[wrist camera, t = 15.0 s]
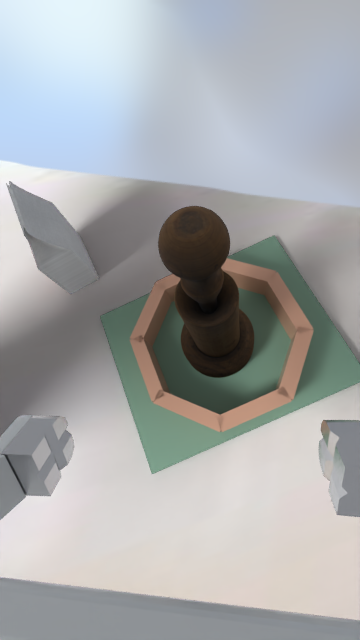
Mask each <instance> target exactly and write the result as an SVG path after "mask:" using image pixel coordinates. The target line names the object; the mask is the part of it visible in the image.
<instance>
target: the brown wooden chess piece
mask: <svg viewBox="0 0 360 640" xmlns="http://www.w3.org/2000/svg"><path fill="white" fill-rule="evenodd" d="M158 247H159V254H160V257H161V259H162V262H163V263H164V265H165V266H166V268H167V269H168V270H169V271H170V272H171V273H172V274H174V275H175V276H177V277H179V278H180V281H179V283H178V284H177V286H176V289H175V293H174V302H175V306H176V309H177V311H178V313H179V315H180V316H181V318H182V320H183V322H184V325H183V328H182V332H181V346H182V350H183V353H184V355H185V357H186V358H187V360H188V361H189V363H190V364H191V365H192V366H193V367H194V368H195V369H196V370H197V371H198V372H200V373H201V374H203V375H206V376H209V377H214V378H222V377H227V376H231V375H233V374H235V373H237V372H239V371H240V370H241V369H242V368H243V367H244V366H245V365H246V364H247V363H248V361H249V360H250V358H251V355H252V352H253V348H254V330H253V326H252V324H251V321H250V320H249V318H248V317H247V315H246V314H245V313H244V312H243V311H242V310H241V309H239V290H238V287H237V284H236V282H235V281H234V279H233V278H232V277H231V276H230V275H229V274H227V273H226V272H224V271H223V270H222V268H221V267H222V266H223V264H224V263H225V261H226V259H227V257H228V254H229V249H230V238H229V233H228V230H227V228H226V226H225V224H224V222H223V221H222V219H221V218H220V217H219V216H218V215H217V214H216V213H214V212H213V211H211V210H209V209H207V208H204V207H199V206H189V207H185V208H182V209H179V210H177V211H176V212H174V213H173V214H172V215H171V216H170V217H169V218H168V219H167V220H166V221H165V223H164V224H163V226H162V228H161V231H160V234H159V240H158Z"/></svg>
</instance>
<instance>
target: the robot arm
mask: <svg viewBox="0 0 360 640" xmlns="http://www.w3.org/2000/svg"><path fill="white" fill-rule="evenodd" d="M67 426H68V424H67V421H66V419H65V417H61V416H40V415H35V416H32V415H21V416H19V417H17V418H16V419H15V420H14V421H13V423H12V424H11V425H10V426H9V427H8V428H7V430H6V431H5V432H4V433H3V434H2V435H1V436H0V520H1V519H2V518H3V517H4V516H5V515H6V514H7V513H9V512H10V511H11V510H12V509H13V508H14V507H15V506H16V505H17V504H19V503H20V502H21V501H22V500H23V499H24V498H25V497H26V496H25V495H31V496H51V494H52V493H53V491H54V489H55V487H56V485H57V483H58V482H59V480H60V478H61V472H60V470H61V469H62V468H64V467H65V466H66V465H68V463H69V461H70V459H71V457H72V454H73V450H74V440H73V437H72V435H71V434H70V433H69V432H68V431H67V430H66V428H67ZM321 432H322V435H323V439H321V440H320V441H319V460H320V465H321V469H322V472H323V475H324V477H326V478H327V479H328V480H329V481H330V484H329V494H330V497H331V499H332V502H333V505H334V508H335V511H336V514H337V515H343V516H354V517H360V421H359V420H323V422H322V424H321ZM0 640H360V620H352V619H344V618H336V617H327V616H319V615H311V614H303V613H294V612H286V611H278V610H270V609H261V608H253V607H245V606H237V605H228V604H220V603H212V602H204V601H195V600H187V599H179V598H170V597H162V596H154V595H146V594H137V593H129V592H121V591H113V590H104V589H96V588H88V587H80V586H71V585H63V584H55V583H46V582H38V581H30V580H21V579H13V578H5V577H0Z"/></svg>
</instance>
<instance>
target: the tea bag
mask: <svg viewBox="0 0 360 640" xmlns="http://www.w3.org/2000/svg"><path fill="white" fill-rule="evenodd" d="M9 184H10V187H9V186H8V185H7V183H6V185H7V187H8V190H9V193H10V196H11V199H12V202H13V205H14V207H15V210H16V213H17V216H18V219H19V222H20V225H21V228H22V230H23V233H24V236H25V237H26V239H27V240H28V241H29V244H30V247H31V250H32V253H33V256H34V259H35V261H36V264H37V267H38V269H39V270H40V271H41V272H43V273H44V274H45V275H47V276H48V277H49V278H50V279H52V280H53V281H54V282H56V283H57V284H58V285H59V286H61V287H62V288H63V289H65V290H66V291H67V292H68V293H70V294H72V293H74V292H76V291H78V290H80V289H81V288H83V287H85V286H87V285H89V284H91V283H92V282H94V281H96V280H98V279H99V277H98V275H97V272H96V270H95V268H94V266H93V264H92V261H91V259H90V257H89V255H88V252H87V250H86V248H85V246H84V243H83V241H82V239H81V237H80V235H79V234H78V233H77V232H76V231H75V229H74V228H73V227H72V226H71V225H70V223H69V222H68V221H67V220H66V219H65V217H64V216H63V215H62V214H61V213H60V212H59V210H58V209H57V208H56V207H55V206H54V204H53V203H52V202H49V201H47V200H45V199H43V198H40V197H38V196H36V195H34V194H31V193H29V192H27V191H25V190H23V189H21V188H19V187H18V186H16V185H14V184H13V183H12V182H10V181H9Z"/></svg>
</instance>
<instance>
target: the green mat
mask: <svg viewBox="0 0 360 640" xmlns="http://www.w3.org/2000/svg"><path fill="white" fill-rule="evenodd" d="M227 258H228V259H232V260H236V261H240V262H243V263H247V264H251V265H255V266H259V267H263V268H267V269H271V270H274V271H276V272H278V273H279V275H280V277H281V278H282V280H283V281H284V283H285V285H286V286H287V288H288V289H289V291H290V292H291V294H292V296H293V297H294V299H295V300H296V302H297V303H298V305H299V307H300V308H301V310H302V311H303V313H304V315H305V316H306V318H307V319H308V321H309V322H310V324H311V326H312V327H313V330H314V331H313V335H312V338H311V341H310V345H309V348H308V352H307V355H306V358H305V362H304V365H303V368H302V372H301V375H300V379H299V382H298V385H297V389H296V392H295V395H294V399H293V400H292V401H291V402H289V403H287V404H284V405H282V406H280V407H278V408H275V409H273V410H271V411H269V412H266V413H264V414H262V415H260V416H257V417H255V418H253V419H251V420H248V421H246V422H244V423H242V424H239V425H237V426H235V427H233V428H230V429H228V430H226V431H224V432H218V431H216V430H214V429H211V428H209V427H207V426H204V425H202V424H200V423H198V422H195V421H193V420H191V419H188V418H186V417H184V416H182V415H179V414H177V413H175V412H172V411H170V410H168V409H165V408H163V407H161V406H159V405H156V404H154V403H153V402H152V401H151V398H150V395H149V393H148V390H147V387H146V384H145V382H144V379H143V376H142V373H141V370H140V368H139V365H138V362H137V359H136V357H135V354H134V351H133V348H132V345H131V343H130V340H131V339H130V337H131V334H132V332H133V330H134V328H135V326H136V323H137V321H138V319H139V317H140V315H141V312H142V310H143V308H144V306H145V304H146V301H147V299H148V297H149V295H150V293H149V294H147V295H145V296H143V297H140V298H138V299H136V300H134V301H132V302H130V303H127V304H125V305H123V306H121V307H119V308H117V309H115V310H112V311H110V312H108V313H106V314H104V315H102V316H100V318H101V321H102V324H103V327H104V330H105V333H106V336H107V339H108V342H109V345H110V348H111V351H112V354H113V357H114V360H115V363H116V366H117V369H118V372H119V375H120V378H121V381H122V385H123V388H124V391H125V394H126V397H127V400H128V403H129V406H130V409H131V412H132V415H133V418H134V421H135V424H136V427H137V430H138V433H139V436H140V439H141V442H142V445H143V448H144V451H145V454H146V458H147V461H148V464H149V467H150V470H151V473H152V474H154V473H156V472H158V471H160V470H163V469H165V468H167V467H169V466H172V465H174V464H176V463H179V462H181V461H183V460H185V459H188V458H190V457H192V456H194V455H197V454H199V453H201V452H203V451H206V450H208V449H210V448H212V447H215V446H217V445H219V444H221V443H224V442H226V441H228V440H230V439H233V438H235V437H237V436H239V435H242V434H244V433H246V432H248V431H251V430H253V429H255V428H258V427H260V426H262V425H264V424H267V423H269V422H271V421H273V420H276V419H278V418H280V417H282V416H285V415H287V414H289V413H291V412H294V411H296V410H298V409H300V408H303V407H305V406H307V405H309V404H312V403H314V402H316V401H318V400H321V399H323V398H325V397H327V396H330V395H332V394H334V393H337V392H339V391H341V390H343V389H346V388H348V387H350V386H352V385H355V384H357V383H359V382H360V363H359V362H358V360H357V359H356V357H355V356H354V354H353V353H352V351H351V350H350V348H349V347H348V345H347V344H346V342H345V341H344V339H343V338H342V336H341V335H340V333H339V332H338V330H337V329H336V327H335V326H334V324H333V323H332V321H331V320H330V318H329V317H328V315H327V314H326V312H325V311H324V309H323V308H322V306H321V305H320V303H319V302H318V300H317V299H316V297H315V296H314V294H313V293H312V291H311V290H310V288H309V287H308V285H307V284H306V282H305V281H304V279H303V278H302V276H301V275H300V273H299V272H298V270H297V269H296V267H295V266H294V264H293V263H292V261H291V260H290V258H289V257H288V255H287V254H286V252H285V251H284V249H283V248H282V246H281V245H280V243H279V242H278V240H277V239H276V237H275V236H272V237H269V238H267V239H265V240H263V241H261V242H259V243H257V244H254V245H252V246H250V247H248V248H246V249H244V250H241V251H239V252H237V253H235V254H233V255H231V256H229V257H227ZM238 290H239V309H241V310H242V311H243V312H244V313H245V314H246V315H247V317H248V318H249V320H250V321H251V324H252V326H253V330H254V348H253V352H252V355H251V358H250V360H249V361H248V363H247V364H246V365H245V366H244V367H243V368H242V369H241V370H240V371H239V372H237V373H235V374H233V375H231V376H227V377H222V378H214V377H209V376H206V375H203V374H201V373H200V372H198V371H197V370H196V369H195V368H194V367H193V366H192V365H191V364H190V363H189V361H188V360H187V358H186V357H185V355H184V353H183V350H182V346H181V332H182V328H183V325H184V322H183V320H182V318H181V316H180V315H179V313H178V311H177V309H176V306H175V302H174V301H173V302H171V305H170V307H169V309H168V312H167V314H166V316H165V319H164V321H163V323H162V325H161V328H160V330H159V332H158V335H157V337H156V339H155V342H154V344H153V346H152V347H153V350H154V352H155V355H156V357H157V360H158V363H159V365H160V368H161V370H162V373H163V375H164V378H165V381H166V383H167V386H168V388H169V391H170V393H171V394H172V395H174V396H176V397H179V398H181V399H184V400H186V401H188V402H191V403H193V404H195V405H198V406H200V407H203V408H205V409H207V410H210V411H212V412H215V413H217V414H219V415H221V414H223V413H225V412H228V411H230V410H232V409H234V408H237V407H239V406H241V405H243V404H246V403H248V402H250V401H252V400H255V399H257V398H259V397H261V396H264V395H266V394H268V393H270V392H273V391H275V389H276V386H277V383H278V380H279V377H280V373H281V370H282V367H283V364H284V361H285V357H286V354H287V351H288V348H289V345H290V342H291V339H290V338H289V336H288V334H287V333H286V331H285V329H284V327H283V326H282V324H281V322H280V321H279V319H278V317H277V316H276V314H275V312H274V311H273V309H272V307H271V305H270V304H269V302H268V300H267V299H266V297H265V295H262V294H258V293H255V292H251V291H248V290H244V289H241V288H238Z"/></svg>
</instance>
